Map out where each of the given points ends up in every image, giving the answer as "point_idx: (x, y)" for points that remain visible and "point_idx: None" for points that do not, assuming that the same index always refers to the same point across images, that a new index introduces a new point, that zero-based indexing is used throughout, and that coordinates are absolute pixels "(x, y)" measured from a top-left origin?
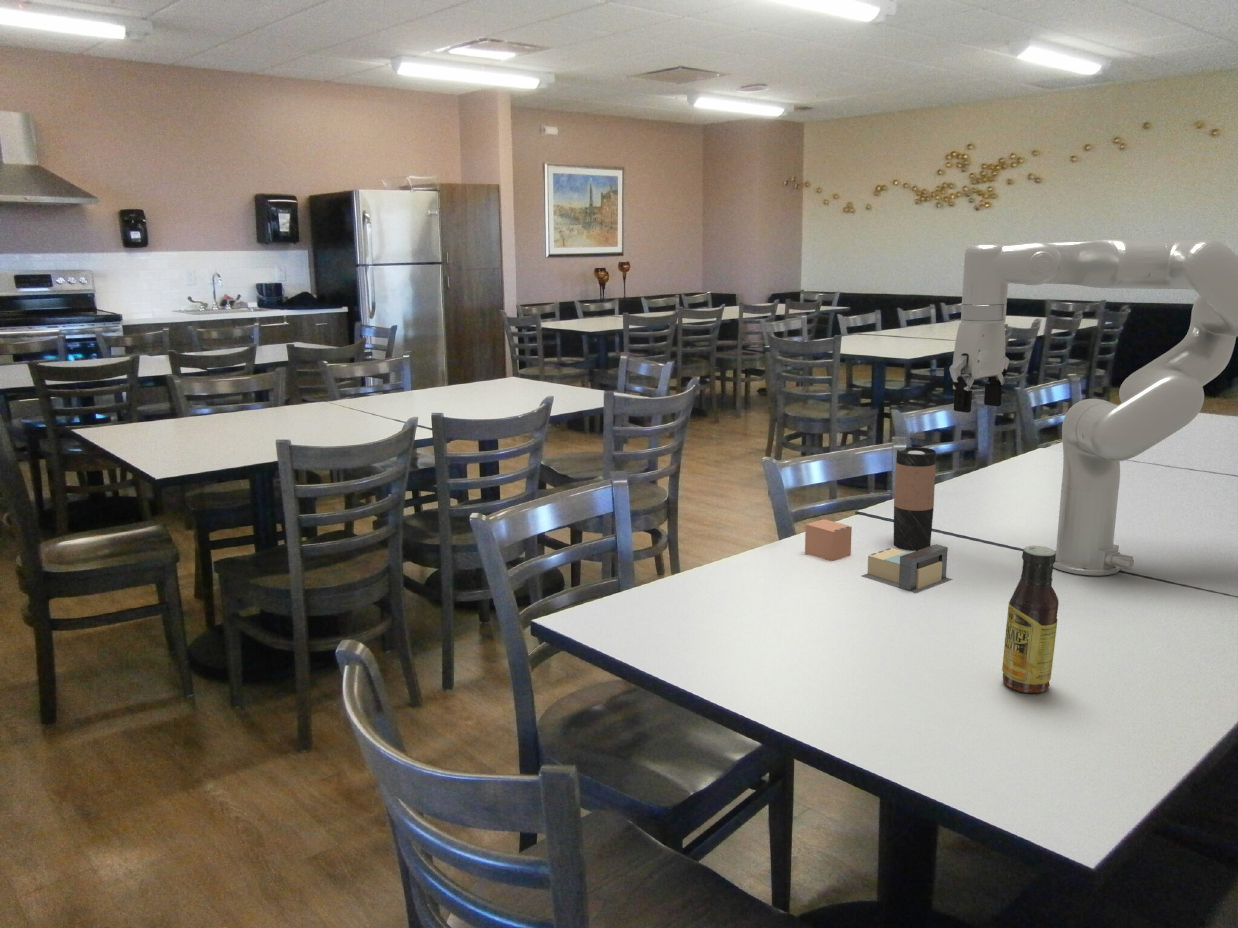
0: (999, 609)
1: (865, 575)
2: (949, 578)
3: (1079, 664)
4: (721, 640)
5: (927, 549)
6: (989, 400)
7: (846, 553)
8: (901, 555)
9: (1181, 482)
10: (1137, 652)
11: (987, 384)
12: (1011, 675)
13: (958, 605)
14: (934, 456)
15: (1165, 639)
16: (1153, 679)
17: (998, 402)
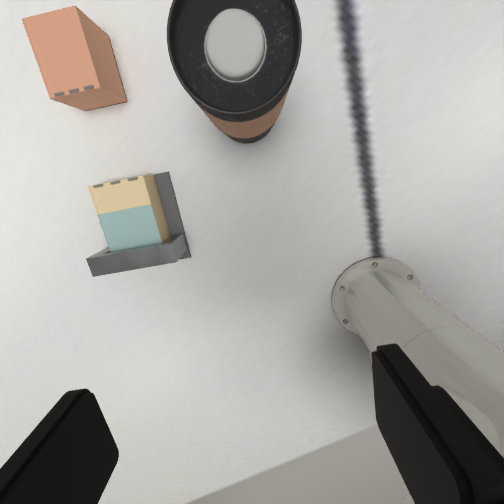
0: (173, 339)
1: None
2: (188, 253)
3: (143, 437)
4: None
5: (142, 255)
6: (384, 399)
7: (113, 102)
8: (132, 213)
9: None
10: (203, 444)
11: (473, 500)
12: None
13: (142, 313)
14: (260, 111)
15: (247, 440)
16: (172, 470)
17: (386, 440)
